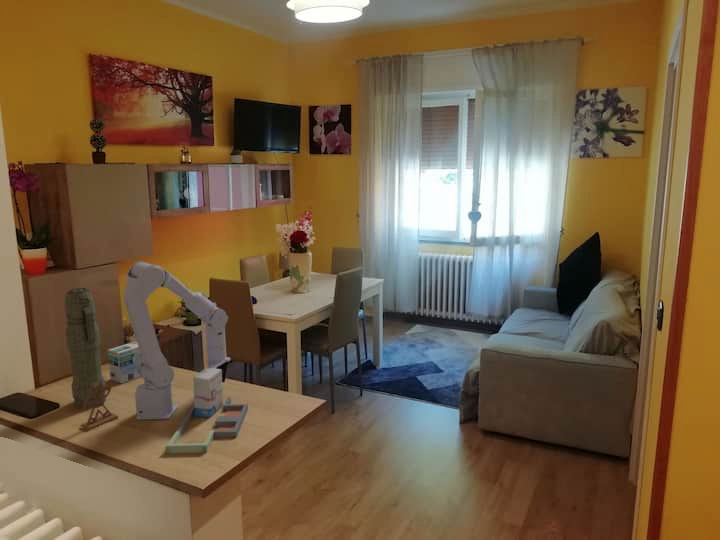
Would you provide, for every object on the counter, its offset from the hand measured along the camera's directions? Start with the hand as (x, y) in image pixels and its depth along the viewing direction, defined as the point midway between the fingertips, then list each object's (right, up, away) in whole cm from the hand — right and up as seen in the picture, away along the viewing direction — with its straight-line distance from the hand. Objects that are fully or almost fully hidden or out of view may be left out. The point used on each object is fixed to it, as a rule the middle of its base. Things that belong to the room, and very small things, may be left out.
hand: (218, 386), depth 167 cm
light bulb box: (-34, 0, +15) cm, 38 cm away
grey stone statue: (-38, -4, -5) cm, 38 cm away
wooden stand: (-28, -6, -18) cm, 34 cm away
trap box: (+4, -6, -20) cm, 21 cm away
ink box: (0, -5, -11) cm, 12 cm away
